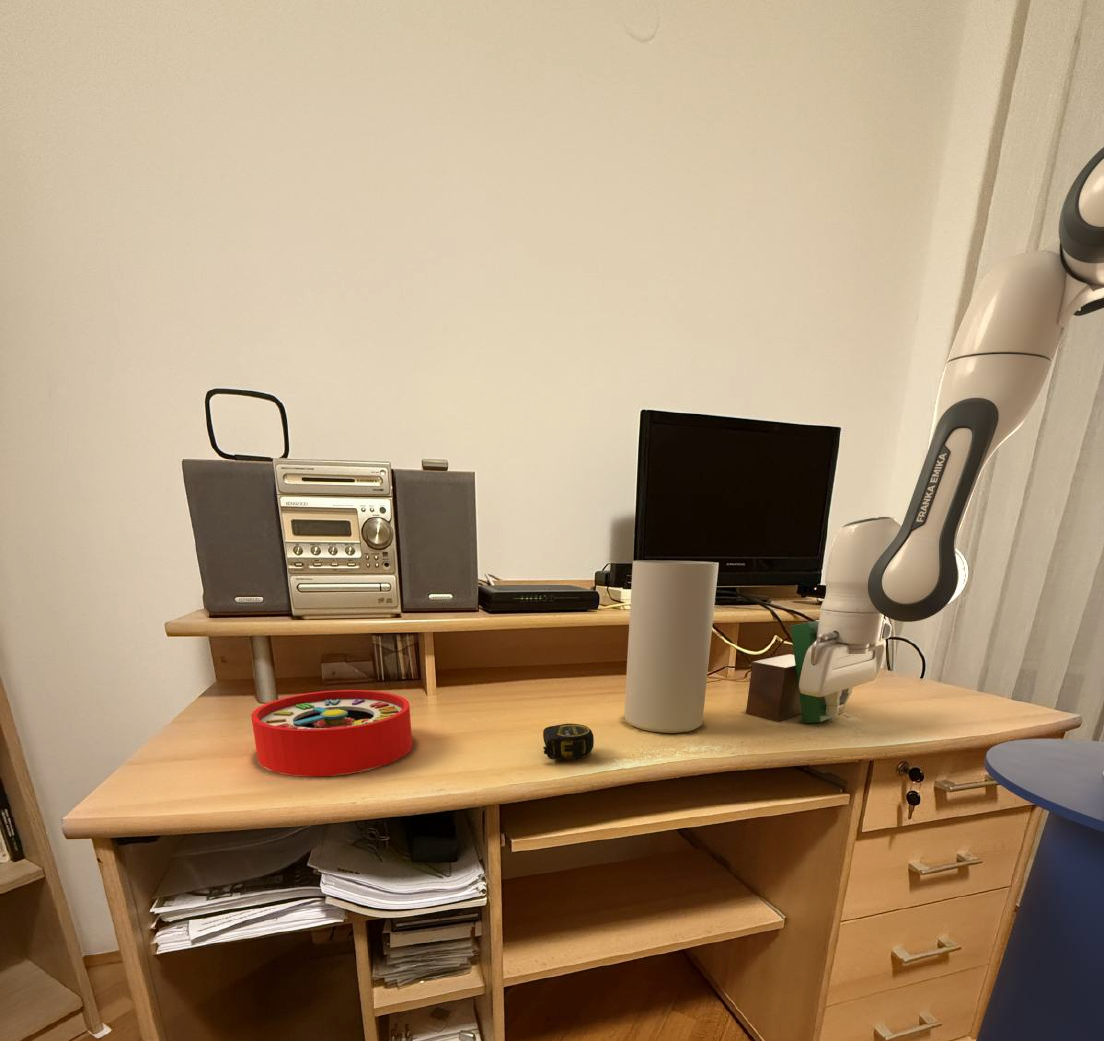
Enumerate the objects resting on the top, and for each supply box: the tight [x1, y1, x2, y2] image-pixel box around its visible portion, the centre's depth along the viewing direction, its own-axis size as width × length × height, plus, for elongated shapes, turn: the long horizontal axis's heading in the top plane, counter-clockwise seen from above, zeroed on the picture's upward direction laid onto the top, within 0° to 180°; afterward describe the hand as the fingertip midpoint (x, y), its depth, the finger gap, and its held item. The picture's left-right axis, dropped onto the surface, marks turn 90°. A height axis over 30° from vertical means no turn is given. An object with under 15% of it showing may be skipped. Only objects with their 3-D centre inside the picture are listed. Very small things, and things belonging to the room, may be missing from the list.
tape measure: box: [542, 723, 595, 760], centre depth 79 cm, size 7×7×4 cm
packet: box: [789, 620, 834, 724], centre depth 96 cm, size 13×6×13 cm, turn 39°
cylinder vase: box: [623, 560, 720, 734], centre depth 90 cm, size 12×12×25 cm
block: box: [745, 653, 802, 722], centre depth 100 cm, size 6×12×9 cm, turn 130°
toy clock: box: [250, 689, 413, 778], centre depth 79 cm, size 20×6×20 cm
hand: (834, 714), depth 95 cm, fingers closed, pressing on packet
